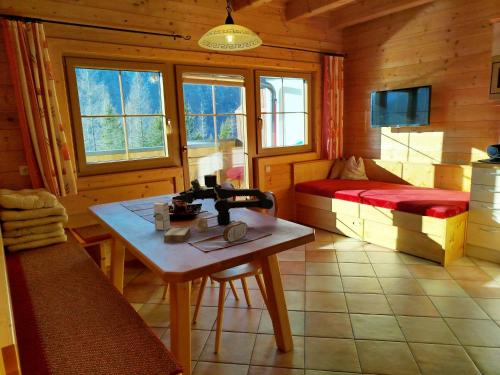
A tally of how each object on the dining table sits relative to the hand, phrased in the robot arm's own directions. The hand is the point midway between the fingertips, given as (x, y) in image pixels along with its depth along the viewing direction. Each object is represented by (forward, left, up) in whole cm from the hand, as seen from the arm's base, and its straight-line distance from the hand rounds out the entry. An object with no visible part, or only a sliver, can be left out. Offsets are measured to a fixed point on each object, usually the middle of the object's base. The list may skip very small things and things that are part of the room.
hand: (177, 195), depth 188 cm
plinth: (-5, +23, -16) cm, 29 cm away
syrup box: (+7, +8, -17) cm, 20 cm away
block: (-15, +11, -17) cm, 25 cm away
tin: (-34, +27, -17) cm, 47 cm away
